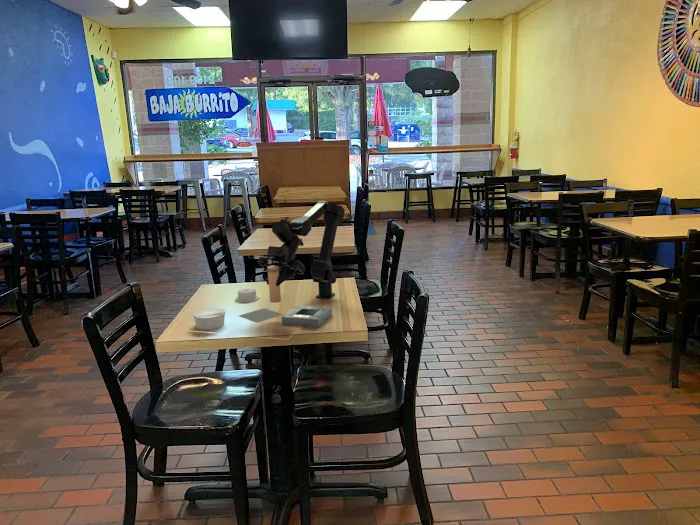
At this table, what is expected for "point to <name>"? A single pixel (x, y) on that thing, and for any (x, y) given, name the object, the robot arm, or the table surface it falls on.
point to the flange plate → (307, 316)
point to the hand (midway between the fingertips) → (272, 284)
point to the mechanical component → (247, 295)
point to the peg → (274, 284)
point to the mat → (260, 315)
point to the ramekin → (209, 318)
